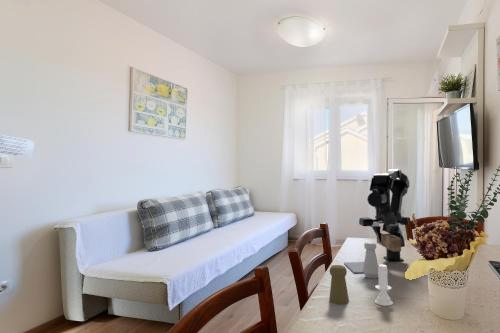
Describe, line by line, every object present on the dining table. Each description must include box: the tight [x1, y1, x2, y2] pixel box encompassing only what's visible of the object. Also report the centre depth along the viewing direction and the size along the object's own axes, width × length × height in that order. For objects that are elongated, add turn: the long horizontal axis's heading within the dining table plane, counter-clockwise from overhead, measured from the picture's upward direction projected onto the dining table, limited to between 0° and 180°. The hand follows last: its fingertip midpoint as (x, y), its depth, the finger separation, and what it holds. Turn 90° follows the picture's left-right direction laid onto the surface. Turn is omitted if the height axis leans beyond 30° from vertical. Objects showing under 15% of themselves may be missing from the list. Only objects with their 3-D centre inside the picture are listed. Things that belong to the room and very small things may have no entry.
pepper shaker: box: [328, 264, 350, 305], centre depth 114 cm, size 6×6×11 cm
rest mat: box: [343, 261, 364, 274], centre depth 149 cm, size 14×10×1 cm
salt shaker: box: [363, 241, 379, 279], centre depth 137 cm, size 6×6×13 cm
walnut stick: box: [376, 230, 402, 252], centre depth 146 cm, size 16×3×5 cm, turn 2°
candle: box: [374, 263, 394, 307], centre depth 112 cm, size 5×5×12 cm
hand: (384, 242), depth 150 cm, fingers closed on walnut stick, 3 cm apart
